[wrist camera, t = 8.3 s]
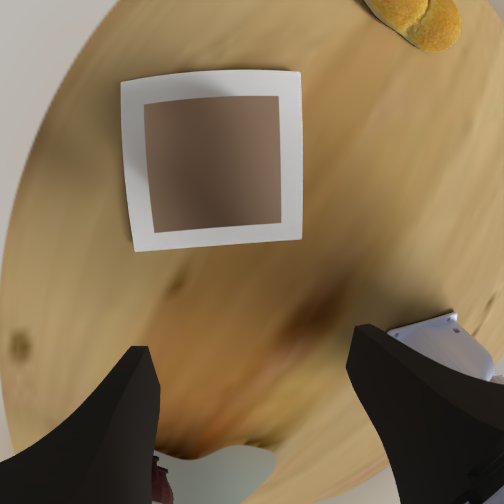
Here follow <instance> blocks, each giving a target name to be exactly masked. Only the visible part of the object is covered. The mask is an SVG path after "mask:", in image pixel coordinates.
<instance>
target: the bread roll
mask: <svg viewBox="0 0 504 504" xmlns="http://www.w3.org/2000/svg"><path fill="white" fill-rule="evenodd" d="M364 1H365V3H366V4H367V6H368V7H369V8H370V9H371V11H372V12H373V13H374V15H375V16H376V17H377V18H378V19H380V20H381V21H382V22H384V23H385V24H386V25H388V26H389V27H390V28H392V29H393V30H395V31H396V32H398V33H400V34H401V35H403V37H404V38H405V39H406V40H408V41H409V42H410V43H412V44H413V45H415V46H416V47H417V48H419V49H421V50H423V51H425V52H439V51H444V50H446V49H449V48H450V47H451V46H452V45H453V44H454V43H455V42H456V41H457V39H458V38H459V35H460V31H461V18H460V14H459V11H458V9H457V7H456V5H455V3H454V2H453V0H364Z"/></svg>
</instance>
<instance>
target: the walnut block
mask: <svg viewBox="0 0 504 504" xmlns="http://www.w3.org/2000/svg"><path fill="white" fill-rule="evenodd" d="M144 127H145V146H146V160H147V172H148V183H149V193H150V202H151V211H152V219H153V227H154V233H161V232H172V231H183V230H194V229H206V228H219V227H232V226H245V225H259V224H274V223H281V155H280V119H279V96H223V97H206V98H193V99H183V100H174V101H165V102H158V103H151V104H144Z"/></svg>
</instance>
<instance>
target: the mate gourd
mask: <svg viewBox="0 0 504 504" xmlns="http://www.w3.org/2000/svg"><path fill="white" fill-rule="evenodd" d="M157 461H159V457H157V456H153V460H152V471H151V490H152V504H173V499H174V498H173V492H172V489H171V487H170V485H169V483H168V481H167V477H166V473H168V470H167V469H165V468H162V467H159V466H157Z"/></svg>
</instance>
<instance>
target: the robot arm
mask: <svg viewBox="0 0 504 504" xmlns="http://www.w3.org/2000/svg"><path fill="white" fill-rule="evenodd" d="M457 316H458V315H457V313H456V312H452V313H449V314H446V315H443V316H439V317H436V318H433V319H429V320H426V321H422V322H419V323H415V324H412V325H408V326H404V327H400V328H396V329H392V330H390V331H388V332H387V333H385V332H384V331H382V330H380V329H379V328H377V327H375V326H373V325H371V324H365V325H359V326H355V329H354V333H353V338H352V342H351V347H350V351H349V355H348V360H347V364H346V370H347V373H348V375H349V378H350V381H351V383H352V386H353V388H354V390H355V392H356V394H357V396H358V398H359V400H360V402H361V403H362V405H363V407H364V409H365V411H366V412H367V414H368V416H369V418H370V420H371V422H372V423H373V425H374V427H375V429H376V431H377V432H378V435H379V437H380V439H381V441H382V443H383V446H384V448H385V451H386V454H387V456H388V459H389V462H390V465H391V468H392V471H393V474H394V477H395V481H396V485H397V489H398V493H399V497H400V502H401V504H504V377H503V376H502V375H499V376H495V367H494V362H493V359H492V357H491V355H490V353H489V352H488V351H487V350H486V349H485V348H484V347H483V346H482V345H481V344H480V343H479V342H478V341H477V340H476V339H475V338H473V337H472V336H471V335H470V334H469V333H468V332H467V331H466V330H465V329H464V328H462V327H461V326H460V325H459V324H458V323H457V322H456V319H457ZM159 412H160V384H159V381H158V378H157V375H156V372H155V368H154V365H153V362H152V359H151V355H150V352H149V348H148V346H131V347H130V348H129V349H128V350H127V352H126V353H125V354H124V355H123V356H122V358H121V359H120V360H119V361H118V363H117V364H116V365H115V366H114V367H113V369H112V370H111V371H110V372H109V374H108V375H107V376H106V377H105V378H104V380H103V381H102V382H101V383H100V384H99V386H98V387H97V388H96V389H95V390H94V391H93V392H92V394H91V395H90V396H89V397H88V398H87V399H86V400H85V401H84V402H83V403H82V404H81V405H80V406H79V407H78V408H77V409H76V410H75V411H74V412H73V413H72V414H71V415H70V416H69V417H68V418H67V419H66V420H65V421H63V422H62V423H61V424H60V425H59V426H58V427H56V428H55V429H54V430H52V431H51V432H50V433H48V434H47V435H46V436H44V437H43V438H42V439H40V440H39V441H38V442H36V443H35V444H33V445H32V446H30V447H28V448H27V449H25V450H24V451H22V452H20V453H18V454H16V455H15V456H13V457H11V458H9V459H7V460H4V461H2V462H0V504H152V490H151V471H152V460H153V453H154V446H155V439H156V432H157V426H158V419H159Z"/></svg>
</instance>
